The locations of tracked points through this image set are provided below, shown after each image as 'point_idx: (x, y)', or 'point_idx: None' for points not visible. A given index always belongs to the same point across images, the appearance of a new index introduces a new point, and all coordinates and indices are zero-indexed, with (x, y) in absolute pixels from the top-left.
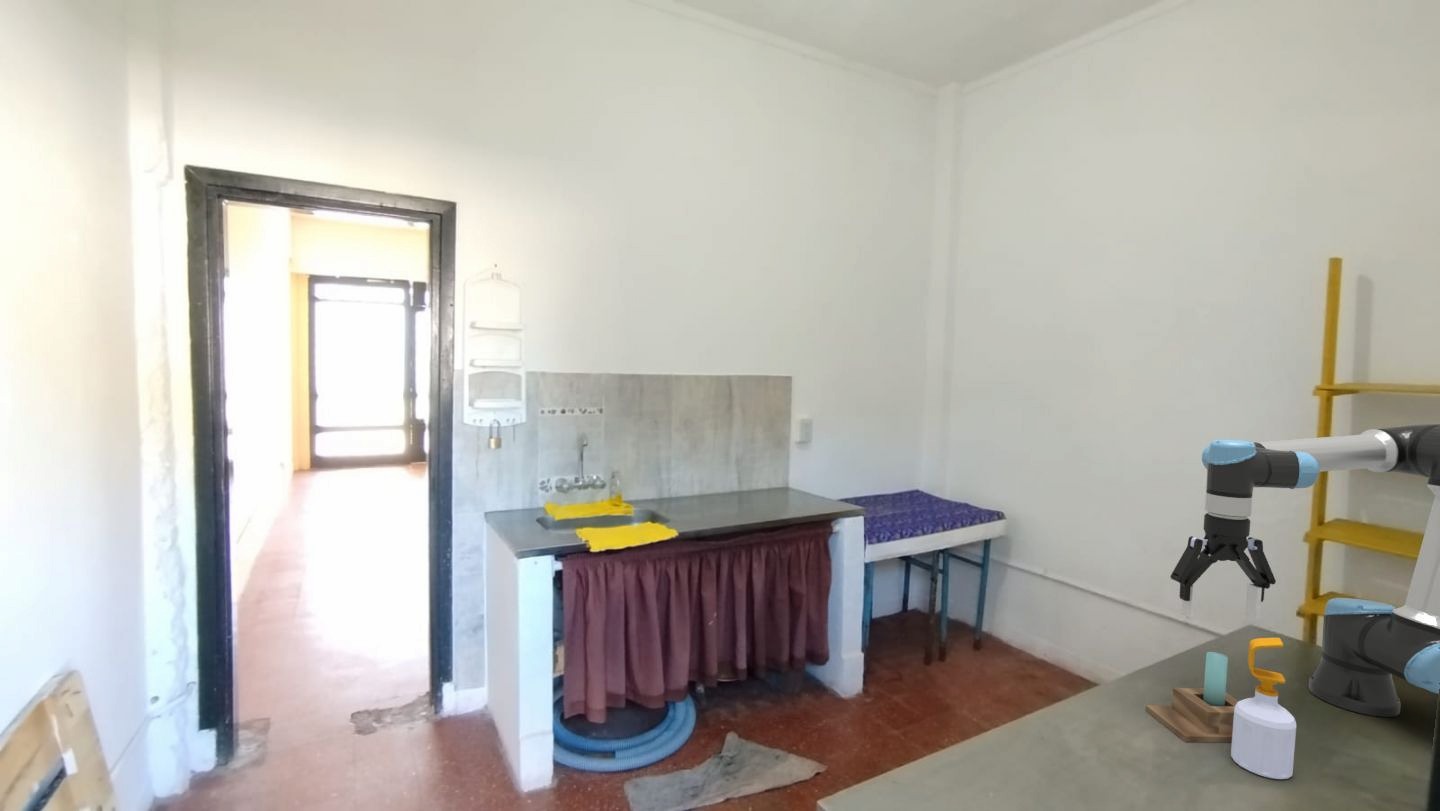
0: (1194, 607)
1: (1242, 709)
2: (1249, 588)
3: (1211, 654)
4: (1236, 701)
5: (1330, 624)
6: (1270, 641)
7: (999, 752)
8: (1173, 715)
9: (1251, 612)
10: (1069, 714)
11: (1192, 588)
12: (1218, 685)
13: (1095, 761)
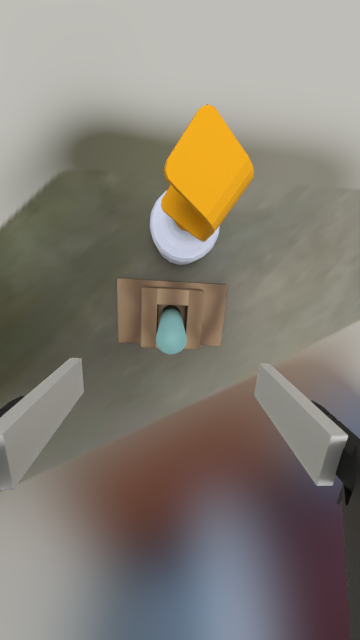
0: (278, 379)
1: (217, 228)
2: (26, 458)
3: (178, 343)
4: (144, 315)
5: None
6: (204, 162)
7: None
8: (206, 325)
9: (76, 380)
10: (304, 338)
11: (340, 431)
12: (176, 315)
13: (345, 254)
